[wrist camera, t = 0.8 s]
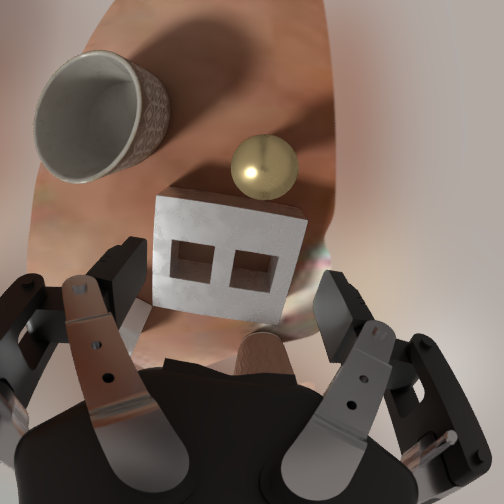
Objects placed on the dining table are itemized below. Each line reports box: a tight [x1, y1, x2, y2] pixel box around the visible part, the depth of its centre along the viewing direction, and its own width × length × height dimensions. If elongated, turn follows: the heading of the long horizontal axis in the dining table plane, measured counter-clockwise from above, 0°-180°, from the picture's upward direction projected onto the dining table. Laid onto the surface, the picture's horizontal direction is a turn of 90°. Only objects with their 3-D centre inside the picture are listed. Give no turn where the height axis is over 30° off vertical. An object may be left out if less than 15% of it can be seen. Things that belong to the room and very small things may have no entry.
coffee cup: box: [234, 332, 297, 382], centre depth 36 cm, size 10×10×12 cm
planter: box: [33, 50, 171, 184], centre depth 22 cm, size 13×13×10 cm
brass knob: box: [231, 135, 298, 200], centre depth 25 cm, size 5×5×10 cm
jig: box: [152, 186, 308, 325], centre depth 32 cm, size 14×16×5 cm
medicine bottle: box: [119, 298, 152, 357], centre depth 33 cm, size 7×7×12 cm
